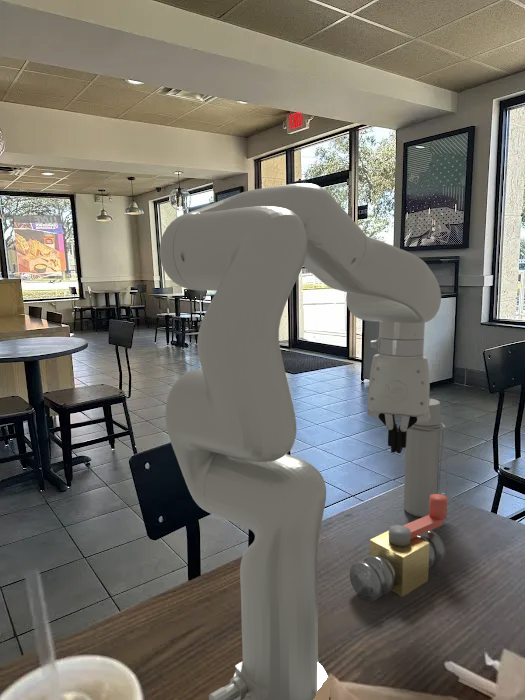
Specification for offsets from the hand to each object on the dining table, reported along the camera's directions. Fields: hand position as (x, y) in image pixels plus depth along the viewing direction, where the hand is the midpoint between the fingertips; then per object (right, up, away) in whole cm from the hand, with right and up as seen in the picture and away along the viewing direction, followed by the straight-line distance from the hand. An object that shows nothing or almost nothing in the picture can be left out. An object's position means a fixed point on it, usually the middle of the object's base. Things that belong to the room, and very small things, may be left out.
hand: (396, 450), depth 90 cm
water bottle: (+12, -18, +21) cm, 30 cm away
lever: (+4, -14, -1) cm, 15 cm away
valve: (0, -22, -2) cm, 22 cm away
